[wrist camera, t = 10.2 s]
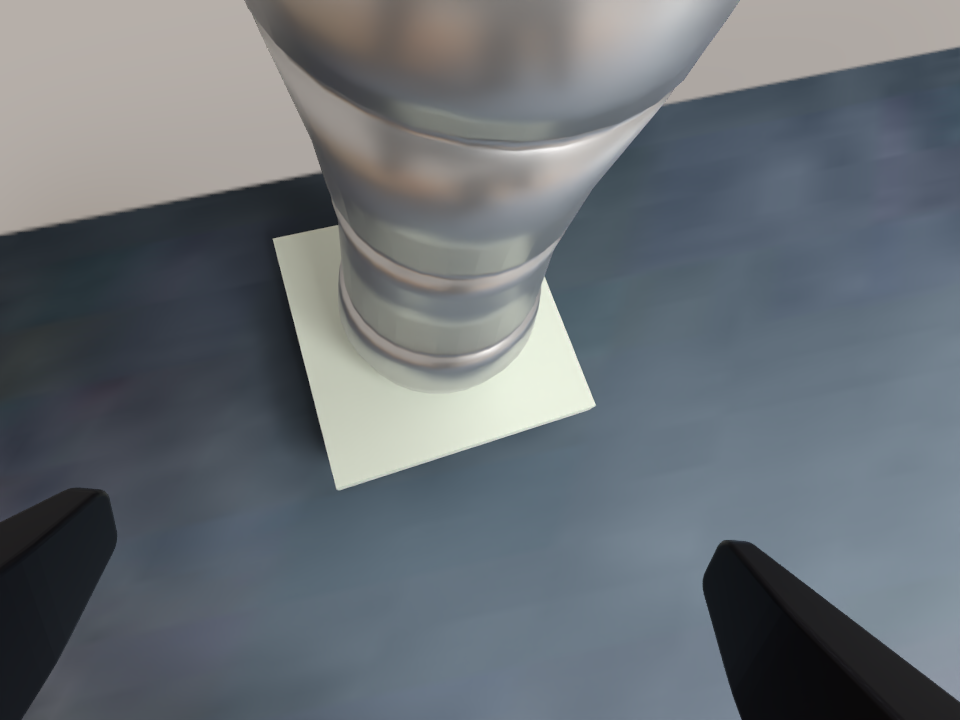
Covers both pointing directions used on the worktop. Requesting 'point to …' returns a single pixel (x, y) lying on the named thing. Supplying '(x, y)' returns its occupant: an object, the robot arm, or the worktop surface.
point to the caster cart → (400, 411)
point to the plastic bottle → (468, 153)
